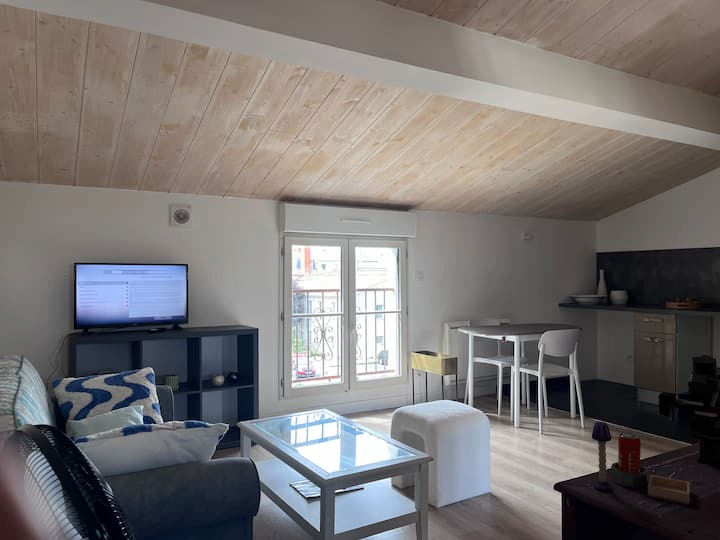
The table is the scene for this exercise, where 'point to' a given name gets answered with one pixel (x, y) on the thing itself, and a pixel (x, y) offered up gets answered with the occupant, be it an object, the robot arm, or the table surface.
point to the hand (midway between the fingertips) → (692, 422)
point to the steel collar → (629, 477)
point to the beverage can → (629, 452)
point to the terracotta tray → (669, 489)
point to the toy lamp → (602, 454)
